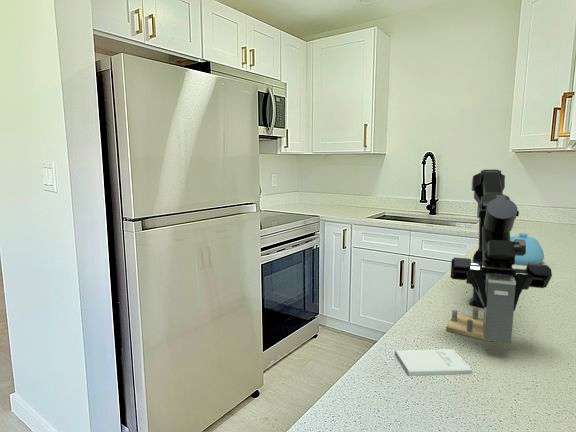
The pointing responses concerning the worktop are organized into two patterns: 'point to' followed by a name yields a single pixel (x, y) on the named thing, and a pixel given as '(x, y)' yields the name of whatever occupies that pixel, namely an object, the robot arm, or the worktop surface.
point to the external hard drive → (432, 362)
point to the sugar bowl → (529, 250)
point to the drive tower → (499, 307)
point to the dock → (466, 324)
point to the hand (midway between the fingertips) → (499, 308)
